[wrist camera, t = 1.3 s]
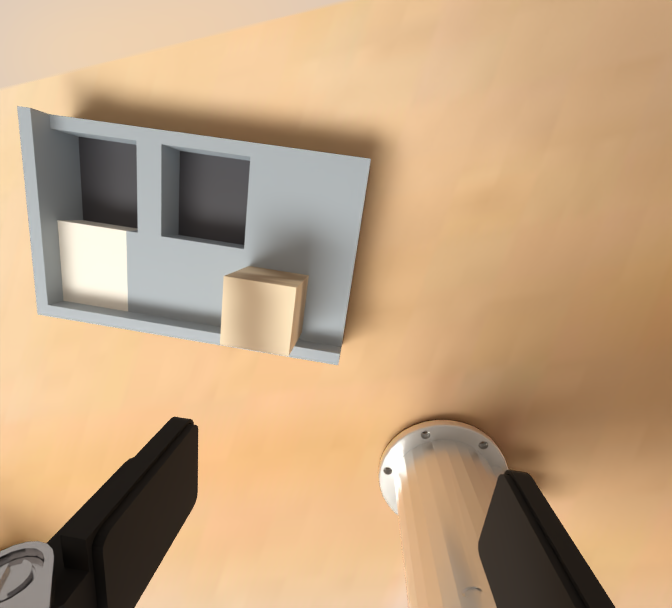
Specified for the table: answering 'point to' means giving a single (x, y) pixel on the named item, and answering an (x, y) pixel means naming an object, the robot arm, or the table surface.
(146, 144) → the board
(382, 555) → the table surface
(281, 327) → the maple cube
